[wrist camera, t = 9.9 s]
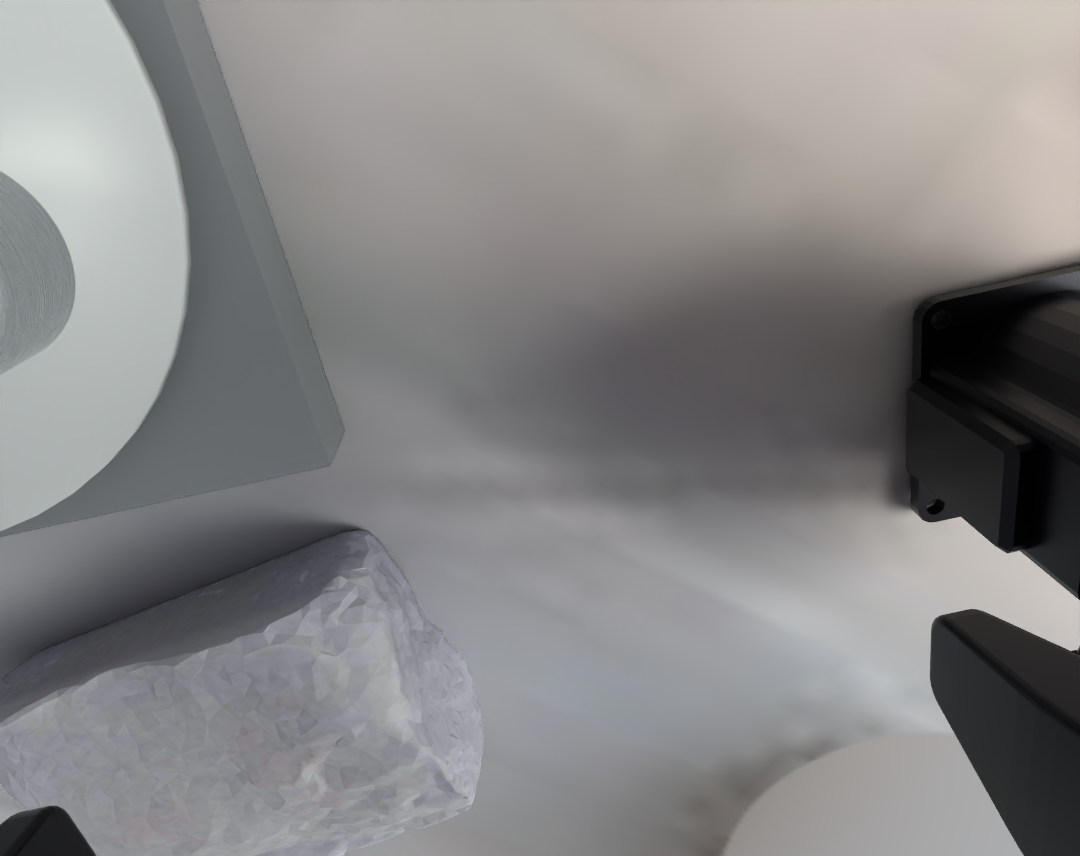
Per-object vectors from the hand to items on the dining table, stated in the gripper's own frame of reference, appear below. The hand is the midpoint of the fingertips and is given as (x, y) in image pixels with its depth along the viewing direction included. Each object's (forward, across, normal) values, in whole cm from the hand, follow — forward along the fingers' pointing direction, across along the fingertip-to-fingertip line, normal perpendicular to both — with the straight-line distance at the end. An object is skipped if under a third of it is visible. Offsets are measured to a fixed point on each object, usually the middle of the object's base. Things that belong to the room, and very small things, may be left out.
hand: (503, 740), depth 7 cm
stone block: (+13, +9, +9) cm, 18 cm away
